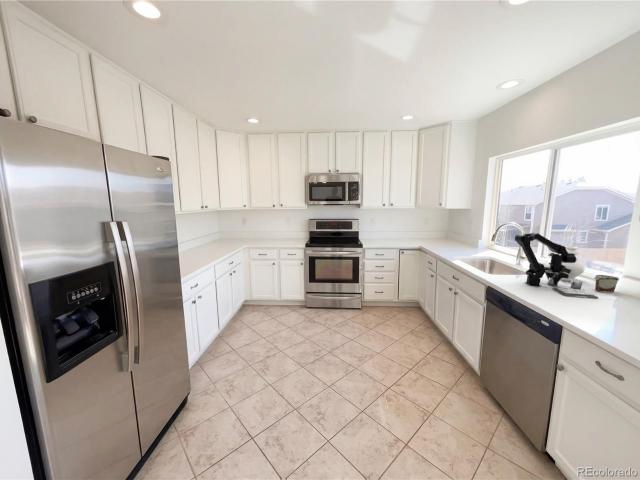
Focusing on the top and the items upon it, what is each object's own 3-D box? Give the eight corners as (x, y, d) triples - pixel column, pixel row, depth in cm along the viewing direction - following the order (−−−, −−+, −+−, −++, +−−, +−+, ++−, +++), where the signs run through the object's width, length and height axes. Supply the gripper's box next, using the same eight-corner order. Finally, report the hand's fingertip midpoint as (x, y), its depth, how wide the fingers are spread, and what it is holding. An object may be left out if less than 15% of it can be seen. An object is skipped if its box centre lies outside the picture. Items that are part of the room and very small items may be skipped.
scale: (564, 296, 154) (564, 294, 154) (552, 289, 166) (552, 287, 166) (598, 298, 150) (598, 297, 150) (583, 291, 161) (583, 290, 161)
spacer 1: (550, 285, 172) (551, 279, 171) (546, 283, 177) (547, 277, 176) (559, 286, 171) (560, 279, 170) (554, 284, 176) (555, 277, 175)
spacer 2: (573, 289, 166) (575, 282, 165) (568, 286, 170) (569, 280, 170) (582, 290, 164) (584, 283, 163) (577, 287, 169) (578, 280, 168)
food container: (606, 288, 166) (609, 274, 164) (616, 292, 160) (619, 277, 158) (586, 288, 167) (589, 274, 166) (595, 291, 161) (598, 277, 160)
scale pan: (565, 293, 155) (565, 292, 155) (555, 288, 164) (555, 287, 164) (594, 296, 152) (594, 294, 151) (583, 290, 160) (583, 289, 160)
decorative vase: (543, 275, 195) (548, 245, 191) (564, 274, 196) (569, 244, 192) (566, 283, 178) (572, 249, 174) (589, 282, 179) (595, 249, 175)
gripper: (580, 266, 160) (576, 289, 163) (561, 260, 178) (557, 280, 181) (559, 265, 163) (556, 287, 166) (542, 259, 181) (539, 279, 183)
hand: (552, 283), depth 174 cm, fingers closed on spacer 1, 5 cm apart
